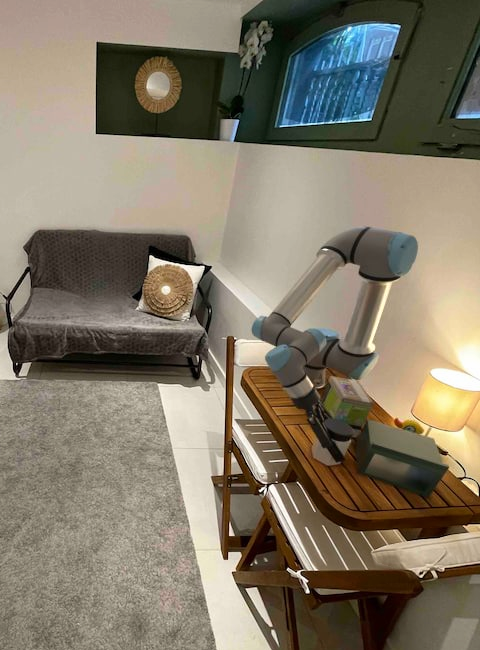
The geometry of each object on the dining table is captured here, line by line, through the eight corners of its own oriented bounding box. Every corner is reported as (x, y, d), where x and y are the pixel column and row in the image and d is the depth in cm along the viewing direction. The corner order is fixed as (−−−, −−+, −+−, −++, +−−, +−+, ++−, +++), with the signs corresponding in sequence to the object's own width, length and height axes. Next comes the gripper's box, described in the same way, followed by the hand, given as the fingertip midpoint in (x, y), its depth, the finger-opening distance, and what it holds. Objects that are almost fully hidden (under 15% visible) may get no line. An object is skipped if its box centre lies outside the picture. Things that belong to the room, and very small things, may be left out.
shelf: (355, 442, 125) (369, 414, 120) (418, 463, 119) (436, 434, 113) (357, 473, 113) (373, 443, 107) (428, 497, 106) (449, 467, 101)
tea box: (357, 438, 128) (375, 403, 120) (326, 433, 129) (342, 397, 122) (343, 413, 140) (359, 379, 133) (315, 408, 142) (329, 374, 134)
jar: (305, 454, 119) (318, 424, 113) (316, 443, 124) (329, 414, 118) (334, 470, 113) (349, 440, 107) (344, 458, 118) (359, 429, 112)
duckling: (382, 441, 127) (395, 418, 122) (385, 434, 131) (398, 411, 126) (422, 459, 121) (437, 435, 116) (424, 451, 124) (439, 427, 119)
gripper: (293, 381, 124) (328, 435, 126) (286, 414, 107) (327, 476, 109) (315, 371, 119) (352, 428, 122) (312, 405, 102) (355, 470, 105)
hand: (340, 451), depth 115 cm, fingers closed on jar, 9 cm apart
